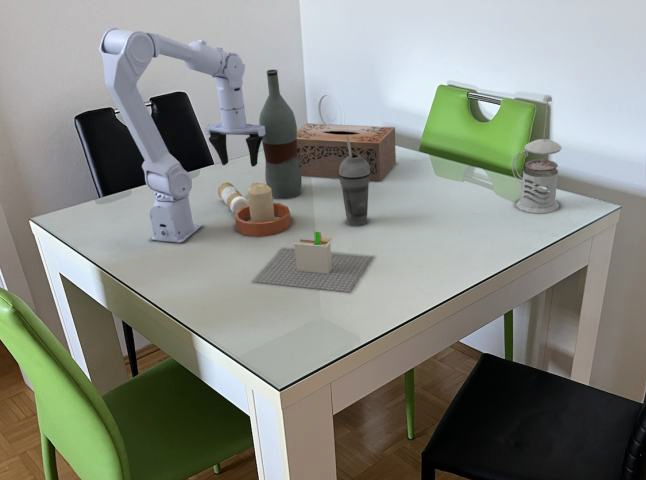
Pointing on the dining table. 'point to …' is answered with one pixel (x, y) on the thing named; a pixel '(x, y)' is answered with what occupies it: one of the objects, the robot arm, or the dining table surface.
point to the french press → (539, 197)
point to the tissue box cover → (344, 148)
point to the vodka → (280, 143)
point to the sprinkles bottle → (232, 197)
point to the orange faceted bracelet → (263, 227)
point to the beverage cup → (355, 187)
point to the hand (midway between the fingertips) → (239, 164)
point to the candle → (260, 203)
